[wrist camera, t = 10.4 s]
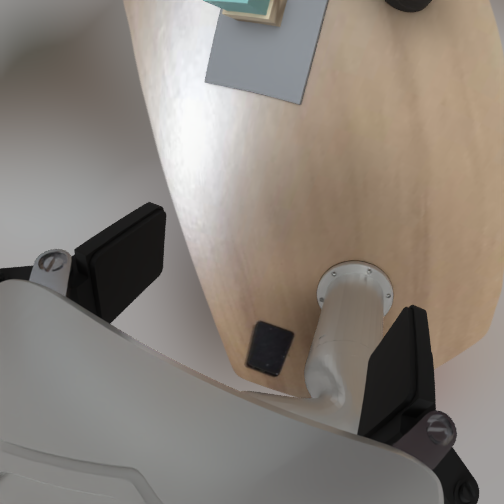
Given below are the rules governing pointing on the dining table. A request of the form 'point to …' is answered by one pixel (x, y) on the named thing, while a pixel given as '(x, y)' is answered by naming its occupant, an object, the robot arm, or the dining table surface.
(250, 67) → the build board
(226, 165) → the dining table surface
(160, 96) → the dining table surface
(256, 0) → the teal block
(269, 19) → the beech block
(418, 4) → the travel mug
